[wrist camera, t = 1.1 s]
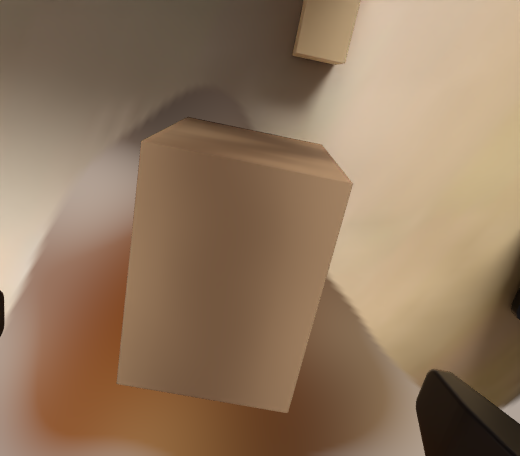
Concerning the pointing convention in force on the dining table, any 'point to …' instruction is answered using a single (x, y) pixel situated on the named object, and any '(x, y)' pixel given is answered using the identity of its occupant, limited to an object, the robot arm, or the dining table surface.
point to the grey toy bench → (326, 30)
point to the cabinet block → (227, 262)
